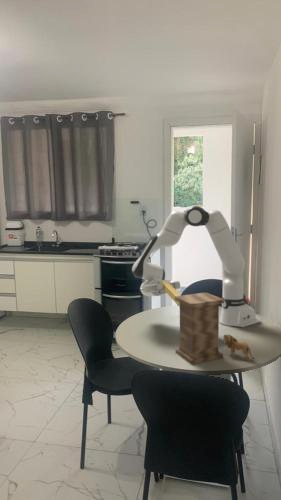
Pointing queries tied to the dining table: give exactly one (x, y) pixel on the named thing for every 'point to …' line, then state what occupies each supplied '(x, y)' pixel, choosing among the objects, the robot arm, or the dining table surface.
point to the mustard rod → (171, 291)
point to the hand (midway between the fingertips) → (167, 286)
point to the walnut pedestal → (199, 327)
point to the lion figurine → (236, 346)
